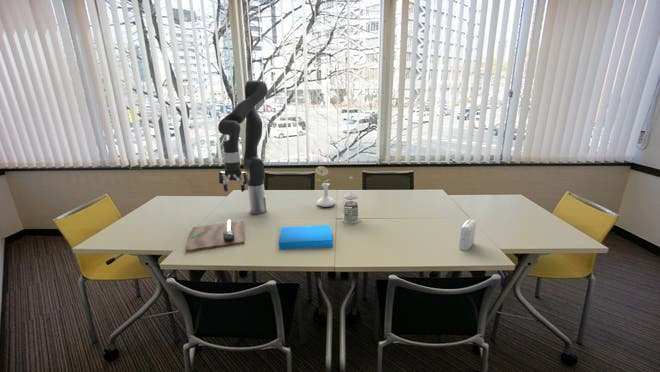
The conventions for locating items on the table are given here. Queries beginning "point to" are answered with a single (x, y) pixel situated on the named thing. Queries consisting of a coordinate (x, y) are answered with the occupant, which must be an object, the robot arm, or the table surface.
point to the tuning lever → (228, 233)
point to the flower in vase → (325, 200)
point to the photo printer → (467, 235)
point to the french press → (353, 212)
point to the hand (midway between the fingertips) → (234, 191)
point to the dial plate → (214, 236)
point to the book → (305, 237)
